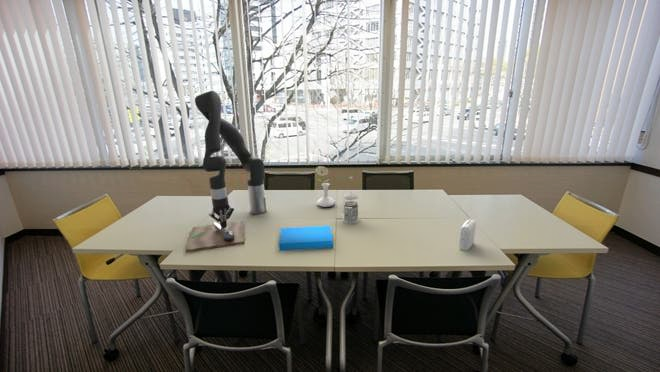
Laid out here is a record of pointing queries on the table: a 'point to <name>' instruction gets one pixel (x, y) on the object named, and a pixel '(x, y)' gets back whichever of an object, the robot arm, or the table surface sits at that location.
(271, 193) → the table surface
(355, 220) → the french press
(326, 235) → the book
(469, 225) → the photo printer
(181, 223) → the table surface
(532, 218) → the table surface
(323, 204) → the flower in vase
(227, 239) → the tuning lever
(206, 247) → the dial plate
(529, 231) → the table surface
